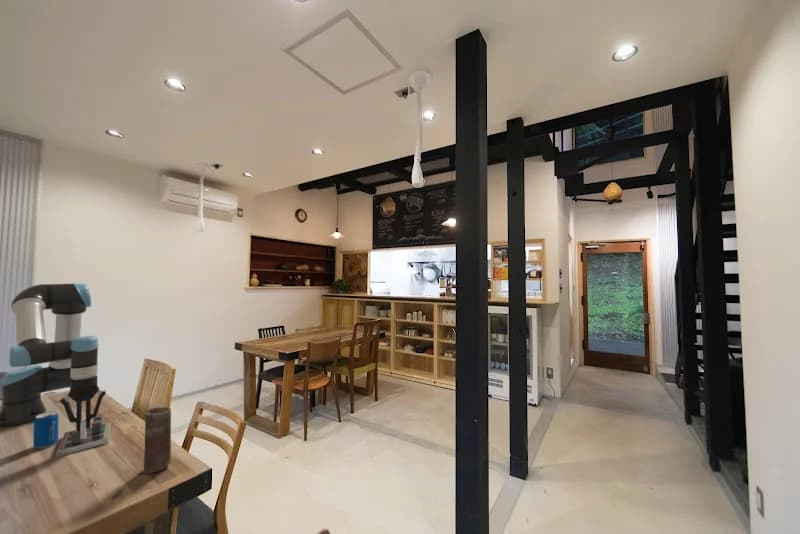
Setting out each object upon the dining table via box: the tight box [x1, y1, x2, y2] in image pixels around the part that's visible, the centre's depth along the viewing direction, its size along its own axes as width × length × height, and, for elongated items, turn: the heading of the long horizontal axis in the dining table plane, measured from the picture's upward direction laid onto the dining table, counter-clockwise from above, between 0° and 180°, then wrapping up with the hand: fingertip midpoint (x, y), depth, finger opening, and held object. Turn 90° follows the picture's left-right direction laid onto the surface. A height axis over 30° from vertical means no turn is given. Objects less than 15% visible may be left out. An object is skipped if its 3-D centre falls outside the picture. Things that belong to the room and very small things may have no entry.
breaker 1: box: [93, 414, 103, 426], centre depth 134 cm, size 4×2×4 cm, turn 40°
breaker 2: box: [91, 419, 101, 434], centre depth 130 cm, size 4×2×4 cm, turn 40°
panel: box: [56, 421, 112, 457], centre depth 128 cm, size 18×14×2 cm
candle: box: [143, 406, 172, 475], centre depth 110 cm, size 8×7×20 cm
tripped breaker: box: [71, 429, 81, 445], centre depth 122 cm, size 4×2×4 cm, turn 41°
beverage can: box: [33, 410, 60, 449], centre depth 124 cm, size 6×6×12 cm
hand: (83, 437), depth 123 cm, fingers closed
